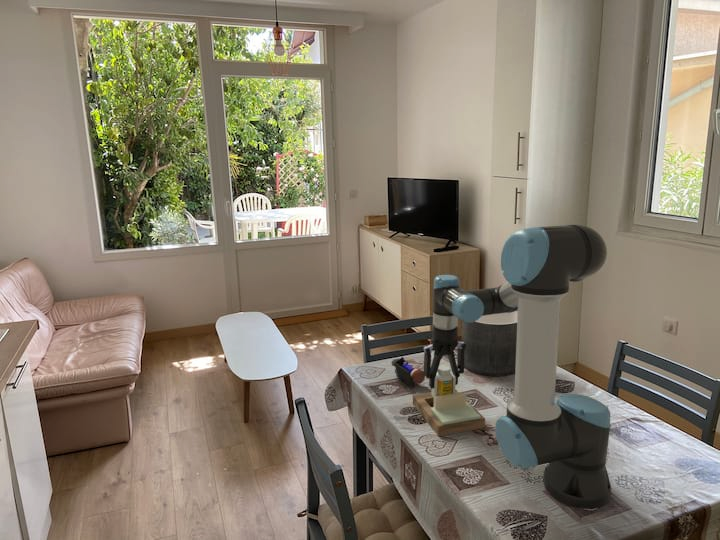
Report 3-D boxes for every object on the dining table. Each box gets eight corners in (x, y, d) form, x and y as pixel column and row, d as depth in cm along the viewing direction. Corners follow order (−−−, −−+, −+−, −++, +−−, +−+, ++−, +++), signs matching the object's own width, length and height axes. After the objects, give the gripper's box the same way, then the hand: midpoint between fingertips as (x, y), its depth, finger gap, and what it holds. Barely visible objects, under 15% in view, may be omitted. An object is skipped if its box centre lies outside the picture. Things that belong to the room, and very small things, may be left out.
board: (484, 427, 152) (485, 418, 151) (438, 436, 148) (438, 426, 147) (454, 397, 171) (455, 388, 170) (412, 403, 167) (412, 395, 166)
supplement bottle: (443, 390, 165) (444, 362, 162) (455, 397, 160) (456, 368, 158) (430, 395, 162) (431, 366, 160) (442, 401, 158) (443, 373, 155)
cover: (480, 418, 151) (480, 405, 150) (442, 424, 148) (443, 411, 147) (466, 404, 159) (466, 391, 158) (430, 409, 156) (430, 397, 155)
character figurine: (404, 372, 191) (426, 388, 178) (387, 374, 188) (409, 391, 175) (405, 352, 189) (428, 367, 176) (388, 354, 186) (410, 370, 173)
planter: (510, 382, 181) (513, 328, 176) (451, 368, 193) (453, 317, 188) (527, 360, 199) (530, 311, 194) (473, 349, 211) (475, 302, 206)
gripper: (467, 318, 161) (464, 386, 167) (412, 324, 157) (411, 394, 162) (478, 326, 154) (475, 396, 160) (421, 333, 150) (420, 405, 155)
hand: (443, 395), depth 161 cm, fingers closed on supplement bottle, 5 cm apart
